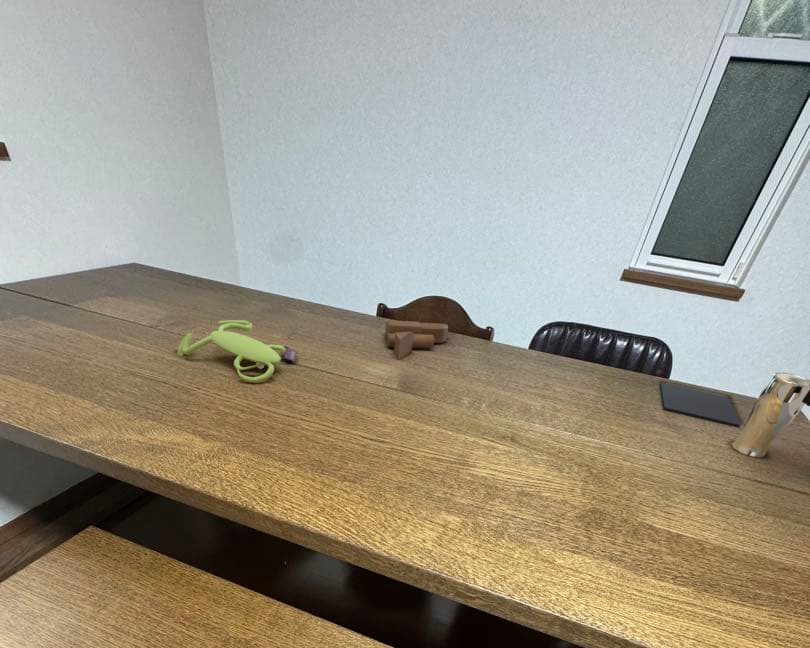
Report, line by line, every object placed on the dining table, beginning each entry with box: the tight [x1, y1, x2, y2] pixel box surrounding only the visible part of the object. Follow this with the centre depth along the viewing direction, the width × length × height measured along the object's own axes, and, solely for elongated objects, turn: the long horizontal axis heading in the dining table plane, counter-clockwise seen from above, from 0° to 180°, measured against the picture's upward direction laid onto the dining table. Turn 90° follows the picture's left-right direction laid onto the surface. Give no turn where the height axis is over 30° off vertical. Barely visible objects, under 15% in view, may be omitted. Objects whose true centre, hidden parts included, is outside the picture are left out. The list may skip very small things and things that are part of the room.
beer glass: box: [731, 372, 810, 458], centre depth 85 cm, size 7×7×15 cm
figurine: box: [177, 319, 298, 384], centre depth 100 cm, size 18×27×6 cm
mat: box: [659, 382, 741, 428], centre depth 108 cm, size 16×18×1 cm
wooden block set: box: [384, 319, 449, 361], centre depth 118 cm, size 17×6×18 cm
